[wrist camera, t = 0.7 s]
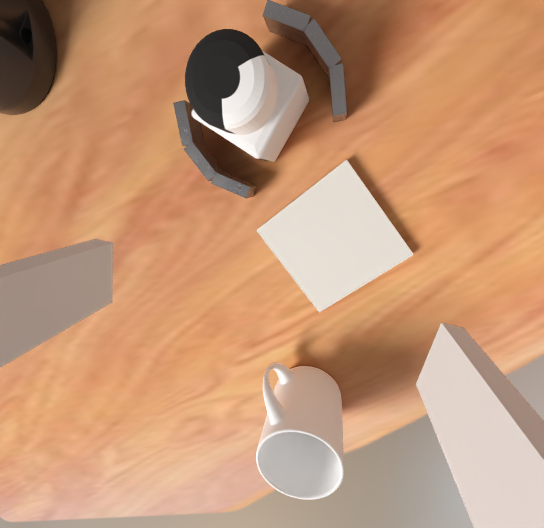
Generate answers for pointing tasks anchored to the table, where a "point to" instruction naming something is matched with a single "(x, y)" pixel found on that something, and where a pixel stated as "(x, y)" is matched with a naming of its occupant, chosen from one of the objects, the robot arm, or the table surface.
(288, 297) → the table surface
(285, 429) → the mug
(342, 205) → the tile
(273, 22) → the cradle
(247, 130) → the medicine bottle
